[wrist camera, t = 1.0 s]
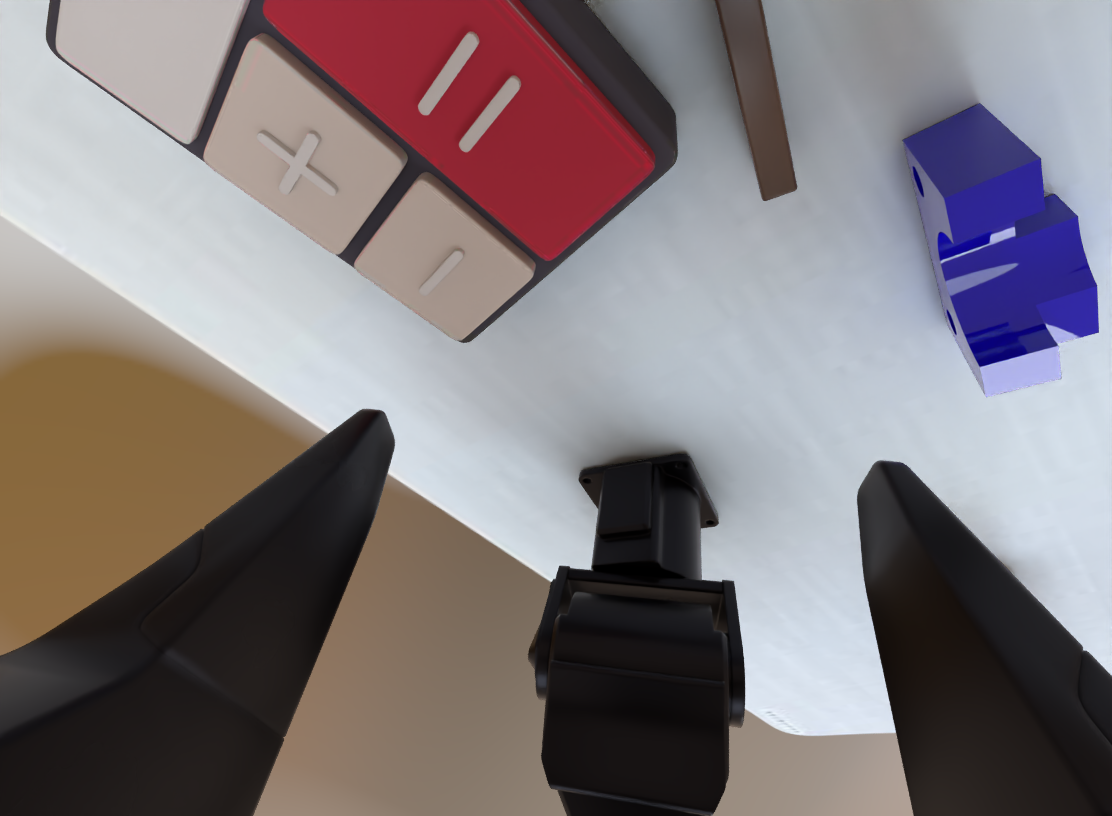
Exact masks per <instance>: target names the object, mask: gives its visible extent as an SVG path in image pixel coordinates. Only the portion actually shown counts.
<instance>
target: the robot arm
mask: <svg viewBox="0 0 1112 816" xmlns="http://www.w3.org/2000/svg"><path fill="white" fill-rule="evenodd" d="M394 447H395V439H394V435H393V433H392V430H391V427H390V424H389V422H388V419H387V416H386V414H385V413H384V412H383V411H381V410H374V409H362V410H360V411H358V412H357V413H356V414H354V415H353V416H352V417H350V418H349V419H348V420H346V421H345V422H344V423H342V424H341V425H340V426H338V427H337V428H336V429H334V430H333V431H332V432H330V433H329V434H328V435H326V436H325V437H324V438H322V439H321V440H320V441H318V442H317V443H316V444H314V445H313V446H311V447H310V448H309V449H307V450H306V451H305V452H303V453H302V454H301V455H300V456H298V457H297V458H295V459H294V460H293V461H291V462H290V463H289V464H287V465H286V466H285V467H283V468H282V469H281V470H279V471H278V472H277V473H275V474H274V475H273V476H271V477H270V478H269V479H267V480H266V481H265V482H263V483H262V484H261V485H259V486H258V487H257V488H255V489H254V490H253V491H251V492H250V493H249V494H247V495H246V496H245V497H243V498H242V499H241V500H239V501H238V502H236V503H235V504H234V505H232V506H231V507H230V508H228V509H227V510H226V511H224V512H223V513H222V514H220V515H219V516H218V517H216V518H215V519H214V520H212V521H211V522H210V523H208V524H207V525H206V526H205V528H204V529H200V530H199V531H197V532H196V533H195V534H194V535H192V536H191V537H190V538H188V539H187V540H185V541H184V542H183V543H181V544H180V545H179V546H177V547H176V548H174V549H173V550H172V551H170V552H169V553H167V554H166V555H165V556H163V557H162V558H160V559H159V560H158V561H156V562H155V563H153V564H152V565H150V566H149V567H147V568H146V569H144V570H143V571H141V572H140V573H138V574H137V575H135V576H134V577H132V578H131V579H129V580H128V581H126V582H125V583H123V584H122V585H120V586H119V587H117V588H116V589H114V590H113V591H111V592H109V593H108V594H106V595H105V596H103V597H102V598H100V599H99V600H97V601H95V602H94V603H92V604H91V605H89V606H88V607H86V608H85V609H83V610H81V611H80V612H78V613H77V614H75V615H74V616H72V617H71V618H69V619H68V620H66V621H64V622H63V623H61V624H60V625H58V626H57V627H55V628H54V629H52V630H50V631H49V632H47V633H46V634H44V635H42V636H41V637H39V638H37V639H36V640H34V641H32V642H30V643H28V644H26V645H24V646H22V647H20V648H18V649H16V650H13V651H11V652H9V653H6V654H4V655H1V656H0V816H253V815H254V812H255V810H256V808H257V805H258V803H259V800H260V798H261V795H262V793H263V790H264V788H265V785H266V783H267V781H268V778H269V776H270V773H271V771H272V768H273V766H274V764H275V761H276V759H277V756H278V754H279V751H280V748H281V746H282V744H283V741H284V738H283V737H285V736H286V734H287V731H288V728H289V726H290V724H291V721H292V719H293V716H294V714H295V712H296V709H297V707H298V704H299V702H300V699H301V697H302V695H303V692H304V690H305V687H306V685H307V682H308V680H309V677H310V675H311V673H312V670H313V668H314V665H315V663H316V660H317V658H318V655H319V653H320V650H321V648H322V646H323V643H324V641H325V638H326V636H327V633H328V631H329V629H330V626H331V624H332V621H333V619H334V616H335V614H336V611H337V609H338V607H339V604H340V601H341V599H342V596H343V594H344V592H345V589H346V587H347V585H348V582H349V580H350V577H351V575H352V572H353V570H354V567H355V565H356V563H357V560H358V558H359V555H360V553H361V550H362V548H363V545H364V543H365V541H366V538H367V536H368V533H369V531H370V528H371V525H372V523H373V521H374V518H375V515H376V512H377V509H378V505H379V502H380V498H381V495H382V491H383V487H384V484H385V480H386V476H387V473H388V470H389V466H390V462H391V459H392V455H393V452H394ZM579 482H580V484H581V485H582V487H583V488H584V490H585V491H586V492H587V494H588V495H589V497H590V498H591V500H592V501H593V502H594V504H595V505H596V507H597V508H598V517H597V525H596V535H595V542H594V550H593V558H592V566H591V570H584V569H573V568H570V566H559V568H558V572H557V576H556V579H553V581H552V582H551V585H550V591H549V595H548V599H547V602H546V606H545V610H544V613H543V617H542V620H541V623H540V625H539V628H538V630H537V632H536V634H535V637H534V639H533V641H532V644H531V646H530V648H529V653H528V660H529V662H530V663H531V665H532V666H533V668H534V669H535V678H536V692H537V696H538V698H539V699H540V700H546V705H545V718H544V729H543V741H542V753H541V754H542V755H541V758H542V763H543V767H544V770H545V774H546V777H547V781H548V784H549V786H550V788H551V789H555V790H558V793H559V796H560V798H561V801H562V803H563V806H564V809H565V811H566V814H567V816H712V815H713V813H714V812H715V810H716V808H717V806H718V804H719V801H720V799H721V797H722V795H723V793H724V791H725V787H726V783H727V780H728V776H729V726H732V727H739V728H741V727H742V725H743V721H744V711H745V669H744V656H743V647H742V639H741V632H740V624H739V616H738V609H737V601H736V593H735V586H734V581H729V580H722V582H719V581H707V580H702V569H701V528H708V527H715V526H717V525H718V524H719V521H718V514H717V512H716V510H715V508H714V506H713V504H712V502H711V500H710V497H709V495H708V493H707V491H706V489H705V487H704V485H703V483H702V481H701V478H700V476H699V474H698V472H697V470H696V468H695V466H694V464H693V461H692V459H691V458H690V456H688V455H686V454H675V455H670V456H664V457H658V458H652V459H646V460H640V461H635V462H629V463H623V464H617V465H611V466H605V467H599V468H594V469H588V470H583V471H581V472H580V474H579ZM857 505H858V517H859V529H860V541H861V553H862V565H863V574H864V582H865V587H866V593H867V598H868V602H869V607H870V612H871V616H872V621H873V626H874V631H875V635H876V640H877V645H878V649H879V654H880V659H881V664H882V668H883V673H884V678H885V682H886V687H887V692H888V697H889V701H890V706H891V711H892V715H893V720H894V725H895V730H896V734H897V739H898V744H899V748H900V753H901V758H902V763H903V767H904V772H905V777H906V781H907V786H908V791H909V796H910V800H911V805H912V810H913V814H914V816H1112V676H1111V675H1110V674H1109V673H1108V672H1107V671H1106V670H1105V668H1104V667H1103V666H1102V665H1101V664H1100V663H1099V662H1098V661H1097V660H1096V659H1095V658H1094V657H1093V656H1092V655H1091V654H1090V653H1089V652H1087V651H1083V647H1082V645H1081V644H1080V643H1079V642H1078V641H1077V640H1076V639H1075V638H1074V637H1073V636H1072V635H1071V634H1070V633H1069V632H1068V631H1067V630H1066V629H1065V628H1064V627H1063V626H1062V625H1061V623H1060V622H1059V621H1058V620H1057V619H1056V618H1055V617H1054V616H1053V615H1052V614H1051V613H1050V612H1049V611H1048V610H1047V609H1046V608H1045V607H1044V606H1043V605H1042V604H1041V603H1040V602H1039V601H1038V600H1037V599H1036V598H1035V597H1034V596H1033V595H1032V594H1031V593H1030V592H1029V591H1028V590H1027V589H1026V587H1025V586H1024V585H1023V584H1022V583H1021V582H1020V581H1019V580H1018V579H1017V578H1016V577H1015V576H1014V575H1013V574H1012V573H1011V572H1010V571H1009V570H1008V569H1007V568H1006V567H1005V566H1004V565H1003V564H1002V563H1001V562H1000V561H999V560H998V559H997V558H996V557H995V556H994V555H993V554H992V553H991V551H990V550H989V549H988V548H987V547H986V546H985V545H984V544H983V543H982V542H981V541H980V540H979V539H978V538H977V537H976V536H975V535H974V534H973V533H972V532H971V531H970V530H969V529H968V528H967V527H966V526H965V525H964V524H963V523H962V522H961V521H960V520H959V519H958V518H957V517H956V515H955V514H954V513H953V512H952V511H951V510H950V509H949V508H948V507H947V506H946V505H945V504H944V503H943V502H942V501H941V500H940V499H939V498H938V497H937V496H936V495H935V494H934V493H933V492H932V491H931V490H930V489H929V488H928V487H927V486H926V485H925V484H924V483H923V482H922V481H921V479H920V478H919V477H918V476H917V475H916V474H915V473H914V472H913V471H912V470H911V469H910V468H909V467H908V466H907V465H905V464H904V463H901V462H893V461H883V460H880V461H877V462H875V463H874V465H873V466H872V468H871V469H870V471H869V473H868V474H867V476H866V477H865V479H864V481H863V482H862V484H861V486H860V488H859V490H858V495H857Z"/></svg>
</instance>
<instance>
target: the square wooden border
mask: <svg viewBox="0 0 1112 816" xmlns="http://www.w3.org/2000/svg"><path fill="white" fill-rule="evenodd" d="M715 3H716V8H717V12H718V16H719V20H720V24H721V29H722V33H723V37H724V41H725V46H726V50H727V54H728V58H729V62H730V67H731V71H732V75H733V79H734V83H735V88H736V92H737V96H738V100H739V104H740V109H741V113H742V117H743V121H744V125H745V130H746V134H747V138H748V142H749V146H750V151H751V155H752V159H753V163H754V167H755V172H756V176H757V180H758V184H759V189H760V193H761V197H762V200H763V201H767V200H770V199H773V198H776V197H779V196H782V195H784V194H787V193H790V192H793V191H795V190H796V189H797V183H796V177H795V172H794V167H793V162H792V157H791V151H790V146H789V141H788V136H787V131H786V125H785V120H784V115H783V110H782V105H781V99H780V94H779V89H778V84H777V79H776V73H775V68H774V63H773V58H772V53H771V47H770V42H769V37H768V32H767V26H766V21H765V16H764V11H763V6H762V0H715Z"/></svg>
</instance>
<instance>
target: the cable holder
mask: <svg viewBox="0 0 1112 816" xmlns="http://www.w3.org/2000/svg"><path fill="white" fill-rule="evenodd" d="M902 141H903V145H904V149H905V153H906V157H907V161H908V165H909V169H910V173H911V177H912V182H913V186H914V190H915V194H916V198H917V202H918V206H919V210H920V214H921V219H922V223H923V227H924V231H925V235H926V239H927V243H928V247H929V251H930V256H931V260H932V264H933V268H934V272H935V276H936V280H937V284H938V288H939V292H940V297H941V301H942V305H943V309H944V313H945V317H946V321H947V325H948V327H949V329H950V331H951V333H952V335H953V337H954V338H955V340H956V342H957V344H958V346H959V348H960V350H961V351H962V353H963V355H964V357H965V359H966V361H967V363H968V365H969V366H970V368H971V370H972V372H973V374H974V376H975V378H976V380H977V381H978V383H979V385H980V387H981V389H982V391H983V393H984V394H985V396H986V397H989V396H993V395H997V394H1001V393H1005V392H1009V391H1013V390H1017V389H1021V388H1025V387H1029V386H1033V385H1037V384H1041V383H1045V382H1049V381H1053V380H1057V379H1061V367H1060V357H1059V347H1058V344H1059V343H1062V342H1066V341H1070V340H1073V339H1077V338H1081V337H1084V336H1088V335H1091V334H1095V333H1099V323H1098V297H1097V285H1096V282H1095V280H1094V278H1093V275H1092V273H1091V270H1090V268H1089V265H1088V262H1087V259H1086V256H1085V253H1084V249H1083V245H1082V241H1081V236H1080V230H1079V222H1078V216H1077V215H1076V214H1075V213H1074V212H1073V211H1072V210H1071V209H1070V208H1069V207H1068V206H1067V205H1066V204H1065V203H1064V202H1063V201H1062V200H1060V199H1059V198H1058V197H1057V196H1056V195H1055V194H1054V195H1051V196H1048V197H1046V198H1044V189H1043V179H1042V168H1041V158H1040V157H1039V156H1037V155H1036V154H1035V153H1034V152H1033V151H1032V150H1031V149H1030V148H1029V147H1028V146H1026V145H1025V144H1024V143H1023V142H1022V141H1021V140H1020V139H1019V138H1018V137H1017V136H1015V135H1014V134H1013V133H1012V132H1011V131H1010V130H1009V129H1008V128H1007V127H1006V126H1004V125H1003V124H1002V123H1001V122H1000V121H999V120H998V119H997V118H996V117H995V116H993V115H992V114H991V113H990V112H989V111H988V110H987V109H986V108H985V107H984V106H982V105H981V104H980V103H979V104H977V105H975V106H973V107H971V108H969V109H967V110H965V111H963V112H961V113H958V114H956V115H954V116H952V117H950V118H948V119H946V120H944V121H942V122H940V123H937V124H935V125H933V126H931V127H929V128H927V129H925V130H923V131H921V132H918V133H916V134H914V135H912V136H910V137H908V138H906V139H904V140H902Z"/></svg>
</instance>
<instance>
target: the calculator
mask: <svg viewBox="0 0 1112 816" xmlns="http://www.w3.org/2000/svg"><path fill="white" fill-rule="evenodd" d="M46 40H47V43H48V45H49V47H50V49H51V50H52V52H53V53H54V54H55V55H56V56H57V57H58V58H59V59H61V60H62V61H63V62H65V63H66V64H67V65H69V66H70V67H71V68H73V69H74V70H76V71H77V72H79V73H80V74H81V75H83V76H84V77H86V78H87V79H88V80H90V81H91V82H93V83H94V84H95V85H97V86H98V87H100V88H101V89H103V90H104V91H105V92H107V93H108V94H110V95H111V96H112V97H114V98H115V99H117V100H118V101H119V102H121V103H122V104H124V105H125V106H127V107H128V108H129V109H131V110H132V111H134V112H135V113H136V114H138V115H139V116H141V117H142V118H143V119H145V120H146V121H148V122H149V123H150V124H152V125H153V126H155V127H156V128H158V129H159V130H160V131H162V132H163V133H165V134H166V135H167V136H169V137H170V138H172V139H173V140H174V141H176V142H177V143H179V144H180V145H182V146H183V147H184V148H186V149H187V150H189V151H190V152H191V153H193V154H194V155H196V156H197V157H198V158H200V159H201V160H203V161H204V162H206V164H207V165H208V166H210V167H211V168H212V169H213V170H214V171H216V172H217V173H219V174H220V175H221V176H223V177H224V178H226V179H227V180H228V181H230V182H231V183H233V184H234V185H235V186H237V187H238V188H240V189H241V190H243V191H244V192H245V193H247V194H248V195H250V196H251V197H252V198H254V199H255V200H257V201H258V202H260V203H261V204H262V205H264V206H265V207H267V208H268V209H269V210H271V211H272V212H274V213H275V214H276V215H278V216H279V217H281V218H282V219H284V220H285V221H286V222H288V223H289V224H291V225H292V226H293V227H295V228H296V229H298V230H299V231H301V232H302V233H303V234H305V235H306V236H308V237H309V238H310V239H312V240H313V241H315V242H316V243H317V244H319V245H320V246H322V247H323V248H325V249H326V250H328V251H329V252H331V253H333V254H335V255H337V256H338V257H340V258H341V259H342V260H344V261H345V262H347V263H348V264H349V265H351V266H352V267H354V268H355V269H356V270H357V271H358V272H359V273H360V274H361V275H363V276H364V277H366V278H367V279H368V280H370V281H371V282H373V283H374V284H376V285H377V286H378V287H380V288H381V289H383V290H384V291H385V292H387V293H388V294H390V295H391V296H392V297H394V298H395V299H397V300H398V301H400V302H401V303H402V304H404V305H405V306H407V307H408V308H409V309H411V310H412V311H414V312H415V313H416V314H418V315H419V316H421V317H422V318H424V319H425V320H426V321H428V322H429V323H431V324H432V325H433V326H435V327H436V328H438V329H439V330H441V331H442V332H443V333H445V334H446V335H448V336H449V337H451V338H452V339H454V340H457V341H459V342H462V343H467V342H470V341H472V340H473V339H474V338H476V337H477V336H478V335H479V334H480V333H481V332H482V331H484V330H485V329H486V328H487V327H488V326H489V325H491V324H492V323H493V322H494V321H495V320H496V319H497V318H499V317H500V316H501V315H502V314H503V313H504V312H506V311H507V310H508V309H509V308H510V307H511V306H512V305H514V304H515V303H516V302H517V301H518V300H519V299H521V298H522V297H523V296H524V295H525V294H526V293H528V292H529V291H530V290H531V289H532V288H533V287H534V286H536V285H537V284H538V283H539V282H540V281H541V280H543V279H544V278H545V277H546V276H547V275H548V274H549V273H551V272H552V271H553V270H554V269H555V268H556V267H558V266H559V265H560V264H561V263H562V262H563V261H564V260H566V259H567V258H568V257H569V256H570V255H571V254H573V253H574V252H575V251H576V250H577V249H578V248H579V247H581V246H582V245H583V244H584V243H585V242H586V241H588V240H589V239H590V238H591V237H592V236H593V235H594V234H596V233H597V232H598V231H599V230H600V229H601V228H603V227H604V226H605V225H606V224H607V223H608V222H609V221H611V220H612V219H613V218H614V217H615V216H616V215H618V214H619V213H620V212H621V211H622V210H623V209H624V208H626V207H627V206H628V205H629V204H630V203H631V202H633V201H634V200H635V199H636V198H637V197H638V196H639V195H641V194H642V193H643V192H644V191H645V190H646V189H648V188H649V187H650V186H651V185H652V184H653V183H654V182H656V181H657V180H658V179H659V178H660V177H661V176H663V175H664V174H665V173H666V172H667V171H668V170H669V169H670V168H671V167H672V166H673V165H674V164H675V162H676V160H677V155H678V146H677V127H676V115H675V112H674V110H673V109H672V107H671V106H670V105H669V103H668V102H667V101H666V100H665V98H664V97H663V96H662V95H661V94H660V92H659V91H658V90H657V89H656V88H655V86H654V85H653V84H652V83H651V82H650V80H649V79H648V78H647V77H646V76H645V74H644V73H643V72H642V71H641V70H640V68H639V67H638V66H637V65H636V64H635V62H634V61H633V60H632V59H631V58H630V56H629V55H628V54H627V53H626V52H625V50H624V49H623V48H622V47H621V46H620V44H619V43H618V42H617V41H616V40H615V38H614V37H613V36H612V35H611V34H610V32H609V31H608V30H607V29H606V28H605V26H604V25H603V24H602V23H601V22H600V20H599V19H598V18H597V17H596V16H595V14H594V13H593V12H592V11H591V10H590V8H589V7H588V6H587V5H586V4H585V2H584V1H583V0H50V3H49V11H48V19H47V27H46Z"/></svg>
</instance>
